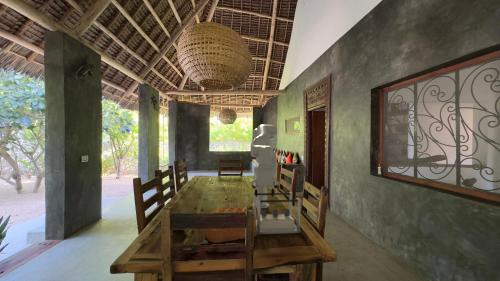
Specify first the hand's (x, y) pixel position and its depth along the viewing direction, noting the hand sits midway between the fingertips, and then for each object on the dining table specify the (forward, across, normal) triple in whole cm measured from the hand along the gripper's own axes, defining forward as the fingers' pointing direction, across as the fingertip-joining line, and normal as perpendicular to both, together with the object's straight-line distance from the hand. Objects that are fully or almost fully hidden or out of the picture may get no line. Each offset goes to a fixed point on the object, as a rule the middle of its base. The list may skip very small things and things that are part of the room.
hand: (264, 196), depth 134 cm
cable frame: (+19, -7, -1) cm, 20 cm away
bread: (+19, +19, +8) cm, 29 cm away
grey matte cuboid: (+12, -14, -1) cm, 19 cm away
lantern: (+20, +43, +7) cm, 48 cm away
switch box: (+19, -7, -1) cm, 20 cm away
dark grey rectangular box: (+12, -7, -1) cm, 14 cm away
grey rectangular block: (+12, 0, -1) cm, 13 cm away
